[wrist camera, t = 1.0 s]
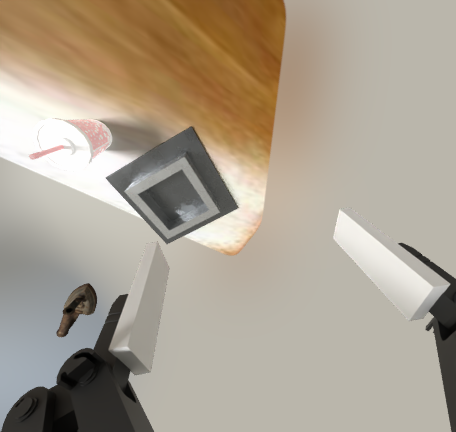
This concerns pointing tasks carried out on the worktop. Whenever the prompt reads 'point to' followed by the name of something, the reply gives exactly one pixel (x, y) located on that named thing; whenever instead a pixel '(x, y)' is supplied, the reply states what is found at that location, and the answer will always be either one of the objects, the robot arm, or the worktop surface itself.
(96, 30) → the worktop surface
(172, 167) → the socket holder
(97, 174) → the worktop surface
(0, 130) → the worktop surface
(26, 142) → the worktop surface
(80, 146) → the beverage cup
